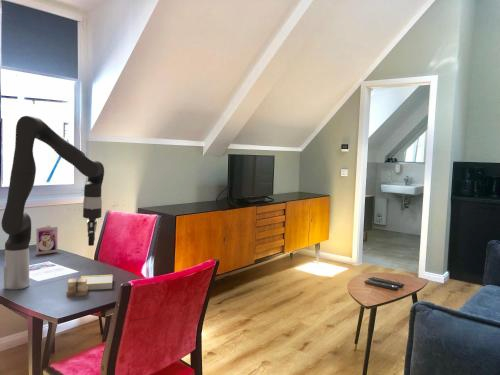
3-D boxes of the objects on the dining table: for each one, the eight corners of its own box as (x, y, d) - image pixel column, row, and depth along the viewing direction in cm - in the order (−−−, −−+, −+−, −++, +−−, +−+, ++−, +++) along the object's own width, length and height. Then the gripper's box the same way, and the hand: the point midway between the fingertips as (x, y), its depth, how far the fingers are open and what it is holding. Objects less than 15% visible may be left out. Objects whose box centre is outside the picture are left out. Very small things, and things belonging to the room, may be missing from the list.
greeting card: (36, 254, 234) (36, 229, 233) (33, 252, 239) (33, 227, 238) (57, 252, 242) (57, 227, 240) (53, 249, 247) (53, 225, 246)
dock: (78, 290, 179) (78, 284, 179) (81, 281, 191) (81, 276, 191) (112, 288, 184) (112, 282, 183) (112, 280, 195) (112, 274, 195)
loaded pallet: (66, 296, 172) (66, 282, 171) (68, 292, 177) (68, 278, 176) (86, 295, 174) (86, 281, 174) (87, 291, 179) (87, 277, 179)
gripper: (84, 204, 184) (83, 239, 185) (82, 209, 171) (81, 247, 172) (102, 204, 186) (101, 239, 188) (101, 209, 173) (100, 246, 174)
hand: (91, 243), depth 180 cm, fingers open, 8 cm apart
